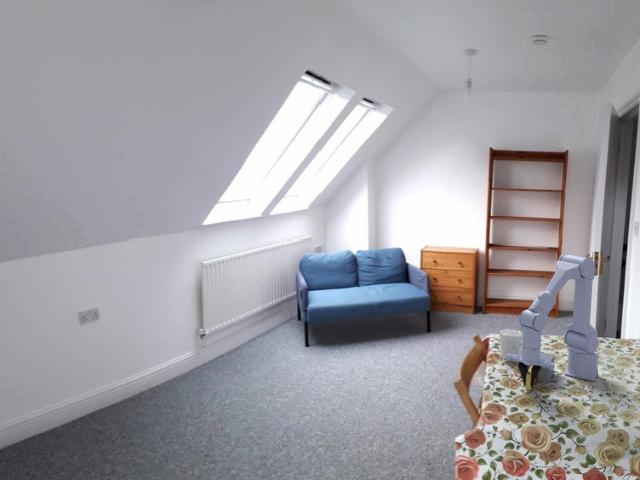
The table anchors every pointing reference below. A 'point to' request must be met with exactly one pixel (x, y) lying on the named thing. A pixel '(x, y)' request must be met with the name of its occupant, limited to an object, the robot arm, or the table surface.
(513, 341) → the white cup
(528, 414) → the table surface
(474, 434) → the table surface
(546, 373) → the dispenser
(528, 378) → the yellow rectangular block
